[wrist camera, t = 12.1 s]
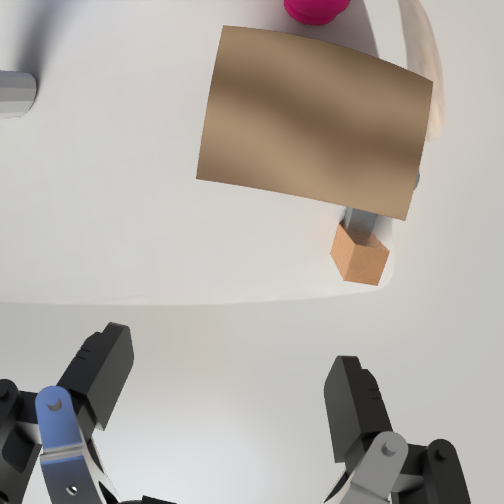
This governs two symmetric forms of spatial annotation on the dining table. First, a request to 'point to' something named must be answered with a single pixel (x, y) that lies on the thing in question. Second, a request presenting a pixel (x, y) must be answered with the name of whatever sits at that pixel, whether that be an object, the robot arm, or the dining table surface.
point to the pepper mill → (315, 10)
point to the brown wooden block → (314, 121)
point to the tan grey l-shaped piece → (359, 248)
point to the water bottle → (16, 93)
